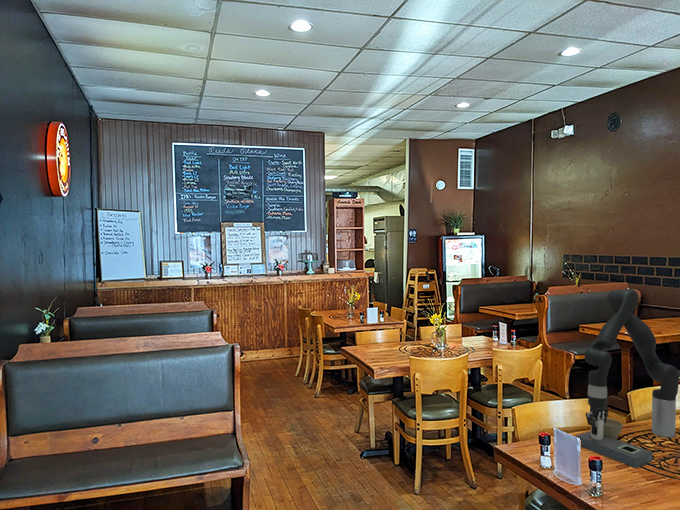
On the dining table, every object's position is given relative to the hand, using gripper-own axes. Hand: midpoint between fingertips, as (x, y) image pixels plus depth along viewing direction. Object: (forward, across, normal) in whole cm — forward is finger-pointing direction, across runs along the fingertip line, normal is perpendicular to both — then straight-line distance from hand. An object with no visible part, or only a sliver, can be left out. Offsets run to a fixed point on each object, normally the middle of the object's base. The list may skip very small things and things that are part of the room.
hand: (597, 433), depth 211 cm
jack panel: (+6, 0, +7) cm, 9 cm away
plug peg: (+6, 0, 0) cm, 6 cm away
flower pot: (+6, -15, -3) cm, 16 cm away
